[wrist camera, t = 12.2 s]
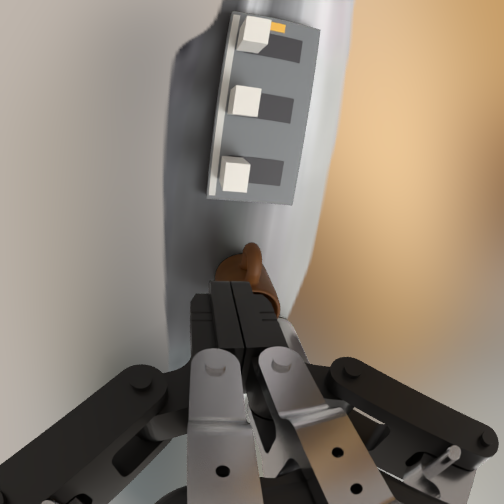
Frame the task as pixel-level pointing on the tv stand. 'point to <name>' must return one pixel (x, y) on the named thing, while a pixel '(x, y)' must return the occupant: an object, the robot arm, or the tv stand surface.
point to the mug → (249, 273)
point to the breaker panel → (265, 111)
